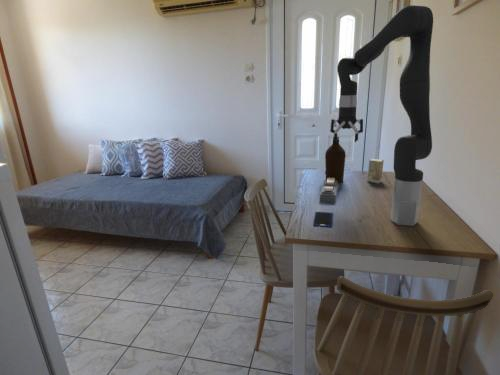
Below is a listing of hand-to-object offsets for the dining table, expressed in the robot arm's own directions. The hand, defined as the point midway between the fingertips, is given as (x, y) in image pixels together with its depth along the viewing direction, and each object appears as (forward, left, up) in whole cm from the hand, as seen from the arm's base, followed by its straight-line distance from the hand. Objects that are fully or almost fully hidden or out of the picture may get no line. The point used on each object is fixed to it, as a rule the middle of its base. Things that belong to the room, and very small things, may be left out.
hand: (345, 141), depth 140 cm
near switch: (-7, +7, -21) cm, 23 cm away
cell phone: (-32, +7, -27) cm, 42 cm away
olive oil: (+20, +6, -26) cm, 34 cm away
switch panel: (-1, +7, -26) cm, 27 cm away
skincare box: (+23, -15, -26) cm, 38 cm away
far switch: (+5, +7, -21) cm, 23 cm away
